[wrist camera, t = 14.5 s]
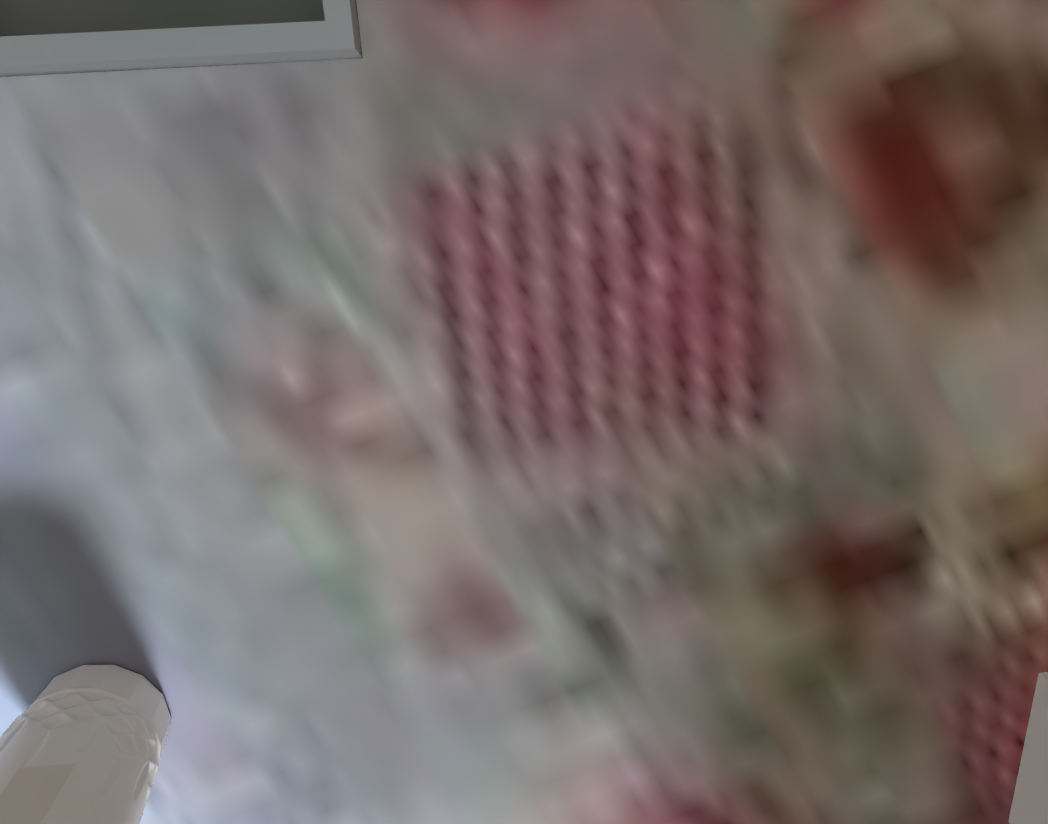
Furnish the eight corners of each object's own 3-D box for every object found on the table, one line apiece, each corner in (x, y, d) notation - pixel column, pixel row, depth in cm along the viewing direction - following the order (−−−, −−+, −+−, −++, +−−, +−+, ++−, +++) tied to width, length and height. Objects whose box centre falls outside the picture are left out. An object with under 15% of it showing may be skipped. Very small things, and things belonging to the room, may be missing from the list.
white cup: (1, 669, 42) (-126, 822, 32) (158, 638, 42) (78, 781, 32) (53, 792, 44) (-51, 968, 35) (201, 762, 44) (139, 928, 35)
